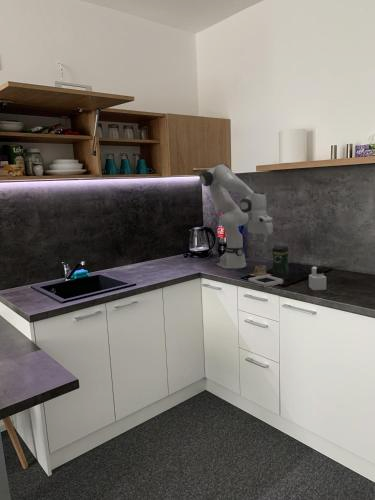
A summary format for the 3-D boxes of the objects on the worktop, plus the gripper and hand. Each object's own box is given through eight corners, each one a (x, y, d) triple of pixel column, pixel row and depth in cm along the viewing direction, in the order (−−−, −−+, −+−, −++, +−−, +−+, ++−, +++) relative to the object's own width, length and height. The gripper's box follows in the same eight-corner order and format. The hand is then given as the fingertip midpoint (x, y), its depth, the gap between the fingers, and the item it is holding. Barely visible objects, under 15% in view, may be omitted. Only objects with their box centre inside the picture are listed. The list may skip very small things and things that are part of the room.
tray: (248, 282, 228) (248, 278, 228) (266, 278, 235) (266, 274, 235) (264, 287, 216) (264, 283, 215) (283, 283, 222) (283, 279, 222)
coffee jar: (290, 274, 242) (290, 245, 239) (284, 277, 237) (284, 247, 233) (276, 272, 249) (276, 244, 246) (270, 275, 243) (270, 246, 240)
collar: (250, 274, 242) (250, 267, 241) (261, 272, 246) (261, 265, 245) (257, 276, 236) (257, 268, 235) (268, 274, 240) (268, 266, 239)
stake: (249, 276, 243) (248, 267, 242) (261, 273, 248) (261, 264, 247) (259, 279, 235) (259, 270, 234) (272, 276, 239) (272, 267, 238)
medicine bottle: (321, 286, 213) (321, 265, 211) (326, 289, 206) (326, 267, 204) (308, 287, 213) (308, 265, 211) (313, 290, 206) (313, 268, 204)
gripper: (245, 218, 243) (245, 239, 245) (265, 219, 225) (266, 243, 227) (253, 217, 246) (253, 238, 248) (274, 218, 228) (275, 241, 230)
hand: (260, 240), depth 237 cm, fingers open, 8 cm apart
